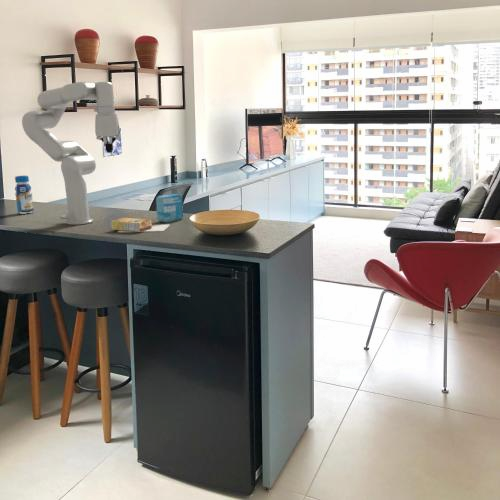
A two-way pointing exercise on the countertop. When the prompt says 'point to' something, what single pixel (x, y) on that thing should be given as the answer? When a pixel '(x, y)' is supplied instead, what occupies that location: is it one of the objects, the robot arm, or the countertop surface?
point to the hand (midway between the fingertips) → (109, 152)
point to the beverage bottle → (23, 194)
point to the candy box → (131, 224)
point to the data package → (169, 208)
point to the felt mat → (154, 228)
